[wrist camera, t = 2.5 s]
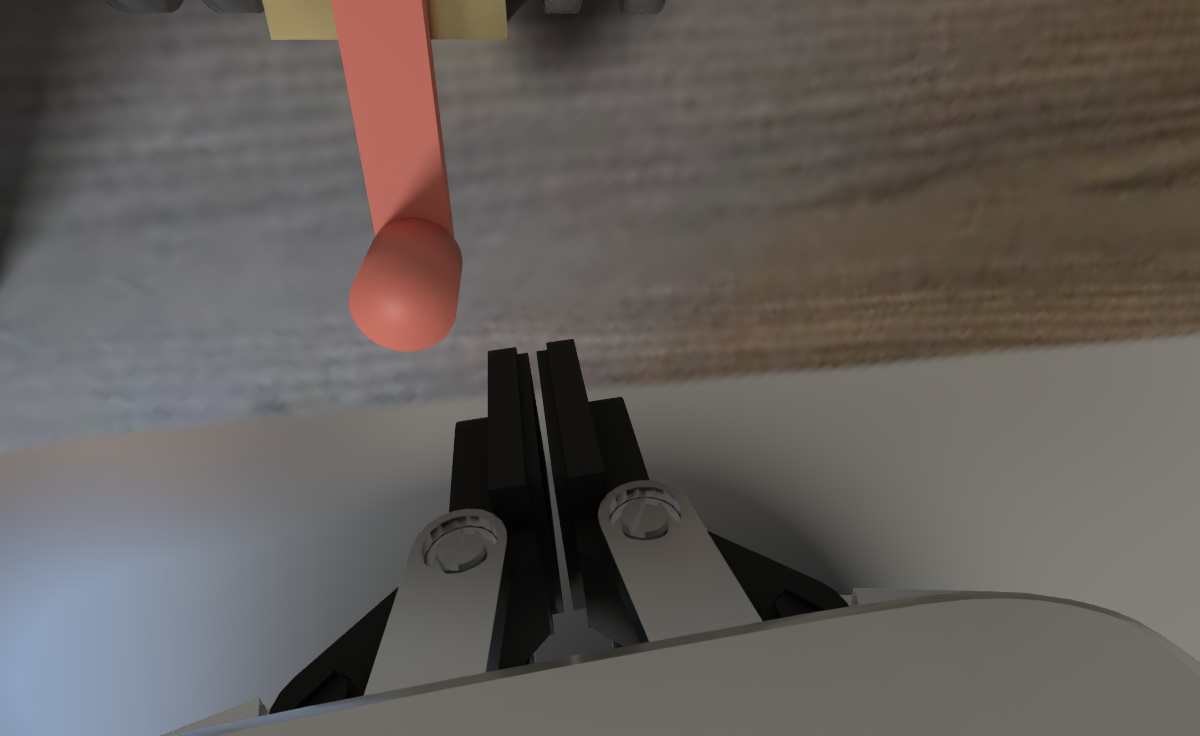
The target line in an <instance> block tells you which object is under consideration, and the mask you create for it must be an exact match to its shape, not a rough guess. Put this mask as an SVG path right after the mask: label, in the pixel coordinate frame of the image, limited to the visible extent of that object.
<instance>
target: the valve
mask: <svg viewBox="0 0 1200 736" xmlns="http://www.w3.org/2000/svg"><path fill="white" fill-rule="evenodd" d="M104 1H105V2H107V3H108V4H109V5H111V6H112V7H114V8H116V9H118V10H120V11H123V12H131V13H171V12H174V11H176V10H177V9H178V8H179V7H180V6H181V4H182V3H183V0H104ZM202 1H203V2H204V3H205V4H206V5H207V6H208V7H209V8H211V9H212V10H214V11H216V12H219V13H261V12H263V11H264V10H265V14H266V18H267V23H268V27H269V31H270V35H271V39H272V40H338V35H337V29H336V24H335V19H334V13H333V8H332V3H331V0H202ZM665 2H666V0H618V4H619V7H620V10H621V12H622V13H623V14H658V13H659V12H660V11H661V10H662V8H663V6H664V4H665ZM426 4H427V12H428V21H429V29H430V38H431V39H508V34H507V17H506V1H505V0H426ZM542 4H543V10H544V13H545V14H578V13H579V12H580V9H581V5H582V0H542Z"/></svg>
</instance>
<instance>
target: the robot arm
mask: <svg viewBox="0 0 1200 736" xmlns="http://www.w3.org/2000/svg"><path fill="white" fill-rule="evenodd" d="M546 345H547V350H544V351H537V359H538V367H539V375H540V382H541V390H542V398H543V405H544V413H545V421H546V428H547V436H548V444H549V452H550V459H551V467H552V474H553V481H554V487H555V495H556V501H557V507H558V513H559V519H560V526H561V532H562V539H563V545H564V551H565V558H566V564H567V570H568V577H569V583H570V590H571V596H572V602H573V609H574V610H580V609H585V608H586V611H587V618H588V624H589V628H591V627H592V628H593V629H595V630H597V631H598V632H600V633H602V634H603V635H605V636H607V637H608V638H610V639H612V644H613V649H609V650H603V651H598V652H593V653H587V654H582V655H577V656H572V657H566V658H560V659H555V660H550V661H545V662H539V663H535V656H534V652H535V651H536V650H537V649H538V648H539V646H540V645H541V644H542V643H543V642H544V641H545V639H546V638H547V637H548V636H549V635H553V634H554V629H553V618H552V614H557V613H563V612H564V609H563V600H562V592H561V584H560V575H559V567H558V559H557V550H556V542H555V535H554V525H553V518H552V509H551V501H550V492H549V484H548V476H547V468H546V461H545V456H544V450H543V443H542V436H541V430H540V425H539V418H538V412H537V406H536V400H535V394H534V387H533V381H532V375H531V369H530V363H529V357H528V353H523V354H517V350H516V347H513V348H506V349H499V350H492V351H488V417H486V418H479V419H472V420H466V421H460V422H457V423H456V427H455V438H454V452H453V465H452V479H451V494H450V507H449V513H447V514H445V515H442V516H440V517H438V518H437V519H435V520H434V521H432V522H431V523H429V524H428V525H427V526H426V527H425V528H424V529H423V530H422V531H421V532H420V533H419V534H418V536H417V537H416V539H415V541H414V543H413V545H412V548H411V551H410V554H409V557H408V560H407V564H406V566H405V570H404V573H403V576H402V579H401V582H400V585H399V587H398V588H396V589H395V590H394V591H393V592H392V593H391V594H390V595H388V596H387V597H386V598H385V599H384V600H383V601H382V602H380V603H379V604H378V605H377V606H376V607H375V608H374V609H372V610H371V611H370V612H369V613H368V614H367V615H365V616H364V617H363V618H362V619H361V620H360V621H359V622H357V623H356V624H355V625H354V626H353V627H352V628H351V629H349V630H348V631H347V632H346V633H345V634H344V635H342V636H341V637H340V638H339V639H338V640H337V641H336V642H334V643H333V644H332V645H331V646H330V647H329V648H328V649H326V650H325V651H324V652H323V653H322V654H321V655H319V656H318V657H317V658H316V659H315V660H314V661H313V662H312V663H310V664H309V665H308V666H307V667H306V668H305V669H303V670H302V671H301V672H300V673H299V674H298V675H297V676H295V677H294V678H293V680H291V681H290V682H289V684H288V685H287V686H286V687H285V688H284V689H283V690H282V691H281V692H280V694H279V695H278V697H277V699H276V700H274V701H271V702H269V703H267V704H263V703H262V701H261V699H260V698H257V699H255V700H252V701H249V702H247V703H244V704H241V705H239V706H236V707H234V708H231V709H229V710H226V711H224V712H221V713H218V714H216V715H213V716H210V717H208V718H205V719H203V720H200V721H197V722H195V723H192V724H190V725H187V726H184V727H182V728H179V729H177V730H175V731H172V732H169V733H166V734H164V735H161V736H1200V662H1198V661H1197V660H1196V659H1195V658H1193V657H1192V656H1191V655H1189V654H1188V653H1187V652H1185V651H1184V650H1183V649H1181V648H1180V647H1179V646H1177V645H1176V644H1174V643H1173V642H1171V641H1170V640H1168V639H1167V638H1165V637H1164V636H1162V635H1161V634H1159V633H1158V632H1156V631H1154V630H1153V629H1151V628H1149V627H1147V626H1146V625H1144V624H1142V623H1141V622H1139V621H1137V620H1134V619H1132V618H1130V617H1127V616H1125V615H1122V614H1120V613H1118V612H1116V611H1112V610H1109V609H1106V608H1102V607H1099V606H1096V605H1092V604H1088V603H1084V602H1079V601H1075V600H1071V599H1063V598H1056V597H1050V596H1043V595H1037V594H1030V593H1018V592H995V591H955V590H953V591H952V590H951V591H950V590H912V589H871V588H854V591H853V595H839V594H838V593H837V592H836V591H835V590H834V589H832V588H830V587H829V586H827V585H825V584H824V583H822V582H820V581H818V580H816V579H813V578H811V577H809V576H807V575H804V574H802V573H800V572H798V571H796V570H793V569H791V568H789V567H787V566H784V565H782V564H780V563H777V562H776V561H773V560H771V559H769V558H767V557H764V556H762V555H760V554H758V553H755V552H753V551H751V550H749V549H746V548H744V547H742V546H740V545H738V544H735V543H733V542H731V541H729V540H727V539H724V538H722V537H720V536H718V535H715V534H713V533H711V532H709V531H707V530H706V529H705V527H704V526H703V524H702V522H701V521H700V519H699V517H698V516H697V514H696V513H695V511H694V509H693V508H692V506H691V504H690V503H689V501H688V500H687V498H686V497H685V496H684V495H683V494H682V493H681V492H680V491H679V490H677V489H676V488H674V487H672V486H671V485H669V484H665V483H662V482H658V481H650V480H649V477H648V474H647V471H646V468H645V465H644V462H643V458H642V455H641V452H640V449H639V446H638V443H637V440H636V437H635V434H634V430H633V428H632V424H631V421H630V418H629V415H628V412H627V409H626V406H625V403H624V400H623V398H622V397H617V398H610V399H604V400H597V401H591V402H588V398H587V394H586V390H585V385H584V381H583V377H582V373H581V369H580V364H579V360H578V356H577V352H576V347H575V343H574V339H569V340H562V341H555V342H548V343H546Z"/></svg>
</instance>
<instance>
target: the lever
mask: <svg viewBox="0 0 1200 736" xmlns="http://www.w3.org/2000/svg"><path fill="white" fill-rule="evenodd" d="M331 3H332V8H333V13H334V19H335V24H336V29H337V35H338V40H339V45H340V51H341V56H342V61H343V67H344V72H345V77H346V83H347V88H348V93H349V99H350V104H351V109H352V115H353V120H354V125H355V131H356V136H357V141H358V147H359V152H360V157H361V163H362V168H363V173H364V179H365V184H366V189H367V195H368V200H369V205H370V211H371V216H372V221H373V227H374V232H375V238H374V240H373V242H372V244H371V246H370V248H369V251H368V253H367V255H366V257H365V259H364V261H363V263H362V265H361V268H360V270H359V272H358V274H357V276H356V278H355V280H354V282H353V285H352V287H351V290H350V295H349V306H350V311H351V314H352V317H353V319H354V321H355V323H356V325H357V326H358V328H359V329H360V330H361V331H362V332H363V333H364V334H365V335H366V336H367V337H368V338H369V339H371V340H372V341H374V342H375V343H377V344H379V345H381V346H383V347H386V348H389V349H392V350H397V351H418V350H423V349H426V348H429V347H431V346H433V345H435V344H437V343H438V342H440V341H441V340H442V339H443V338H444V337H445V336H446V335H447V334H448V333H449V331H450V330H451V328H452V326H453V324H454V321H455V317H456V311H457V303H458V295H459V287H460V280H461V272H462V255H461V251H460V248H459V246H458V244H457V242H456V241H455V239H454V231H453V223H452V215H451V206H450V198H449V189H448V181H447V172H446V164H445V156H444V147H443V139H442V130H441V122H440V113H439V105H438V97H437V88H436V80H435V71H434V63H433V54H432V46H431V38H430V29H429V21H428V12H427V4H426V0H331Z"/></svg>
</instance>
